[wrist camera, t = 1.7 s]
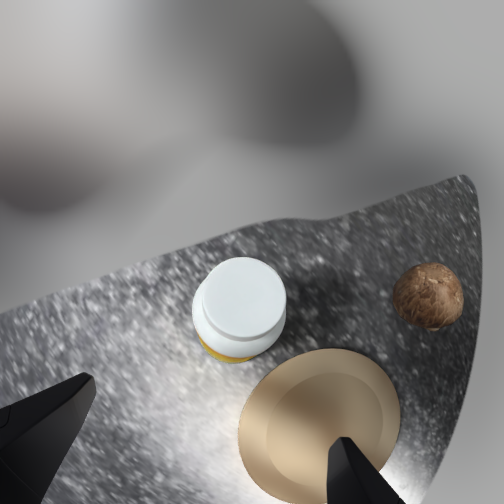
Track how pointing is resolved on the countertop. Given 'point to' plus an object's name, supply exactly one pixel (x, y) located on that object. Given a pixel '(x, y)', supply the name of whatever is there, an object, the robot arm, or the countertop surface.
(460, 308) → the mushroom
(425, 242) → the countertop surface
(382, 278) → the countertop surface
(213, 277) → the supplement bottle
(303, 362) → the plate
